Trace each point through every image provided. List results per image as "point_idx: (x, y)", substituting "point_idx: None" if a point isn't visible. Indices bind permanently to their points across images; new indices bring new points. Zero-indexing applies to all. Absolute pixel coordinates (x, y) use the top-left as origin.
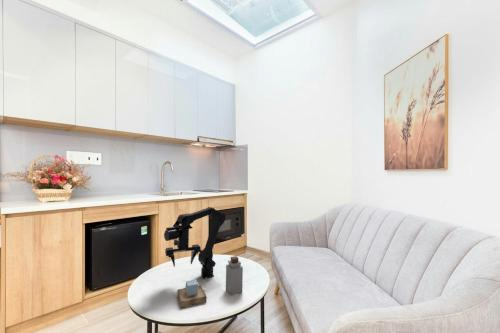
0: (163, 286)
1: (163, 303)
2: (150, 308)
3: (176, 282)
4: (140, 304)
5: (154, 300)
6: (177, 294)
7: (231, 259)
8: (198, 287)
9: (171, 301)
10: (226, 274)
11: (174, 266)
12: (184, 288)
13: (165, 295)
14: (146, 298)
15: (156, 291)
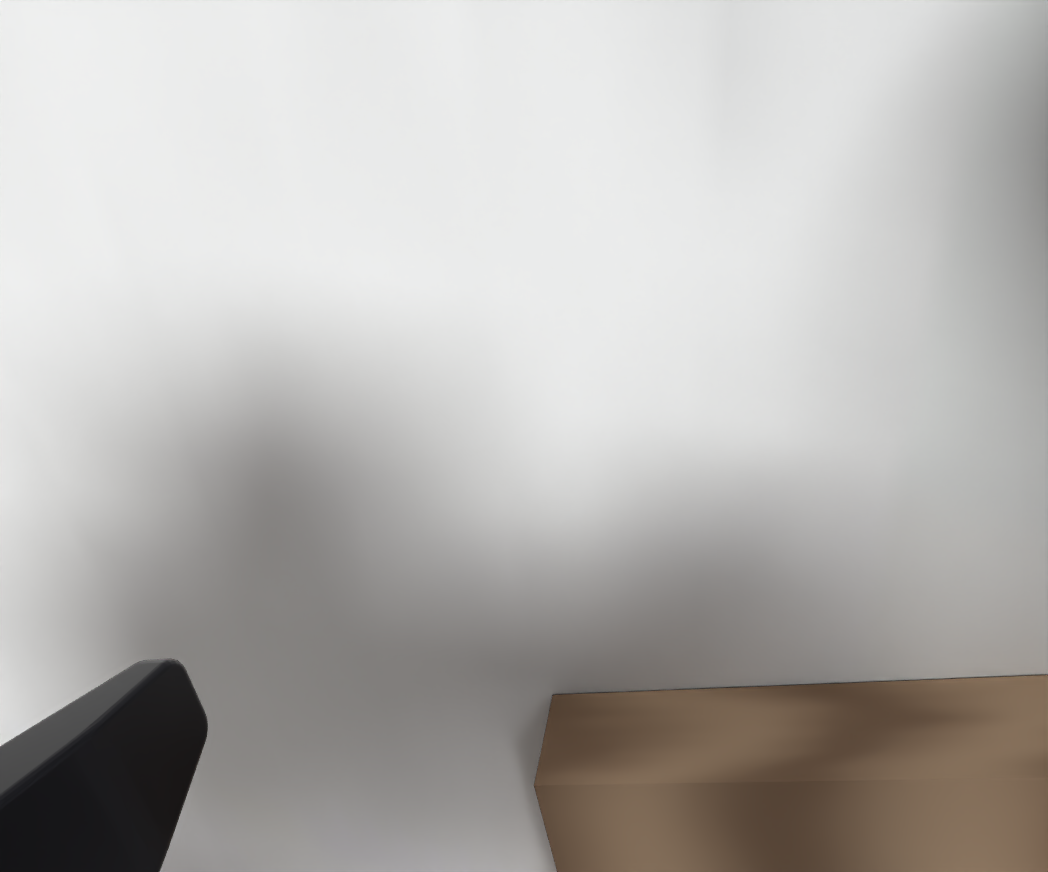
0: (187, 249)
1: (351, 821)
2: (202, 863)
3: (483, 93)
4: None
5: None
6: (551, 720)
7: None
8: (1022, 851)
9: (467, 815)
10: None
11: (192, 751)
12: (686, 793)
13: (329, 626)
14: (33, 619)
15: (111, 437)
